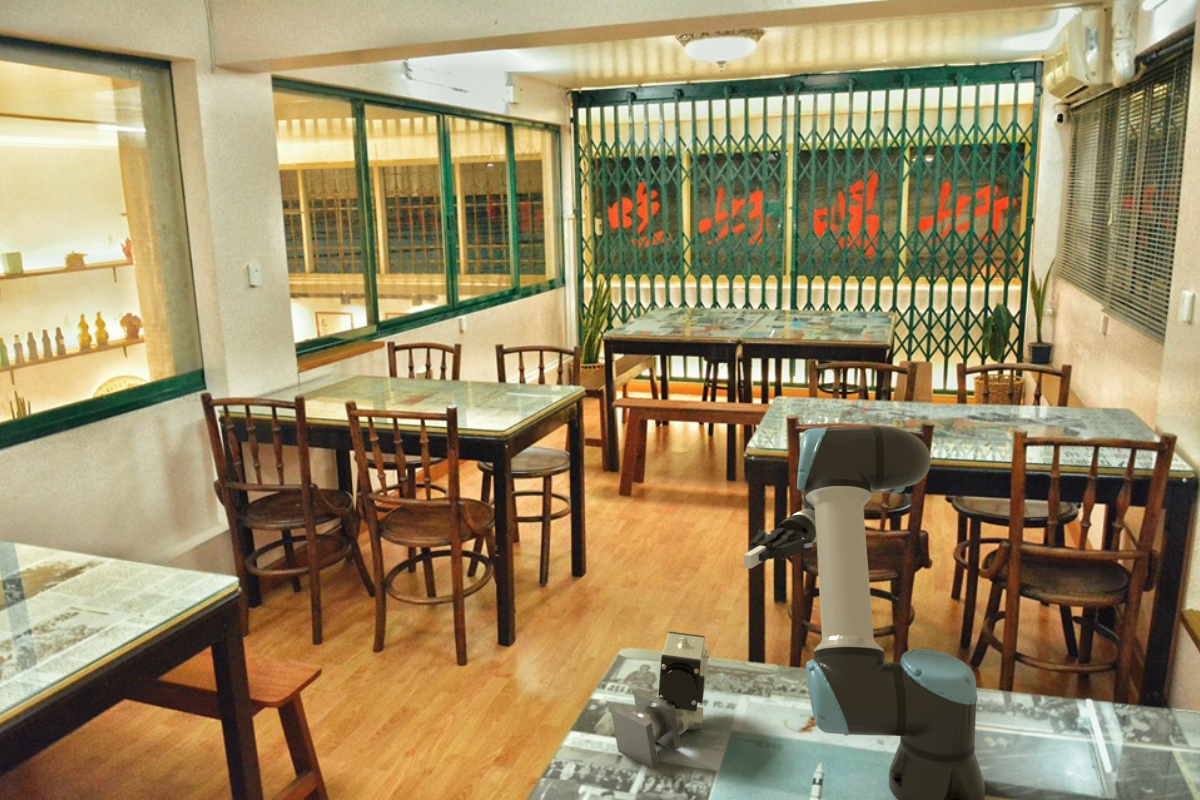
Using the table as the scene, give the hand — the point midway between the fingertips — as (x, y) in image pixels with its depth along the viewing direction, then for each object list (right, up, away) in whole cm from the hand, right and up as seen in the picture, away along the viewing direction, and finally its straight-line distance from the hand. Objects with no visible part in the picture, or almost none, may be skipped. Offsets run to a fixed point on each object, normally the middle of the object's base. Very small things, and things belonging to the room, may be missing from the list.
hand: (747, 561), depth 186 cm
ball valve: (-14, -30, -9) cm, 35 cm away
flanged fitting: (-21, -32, -15) cm, 41 cm away
